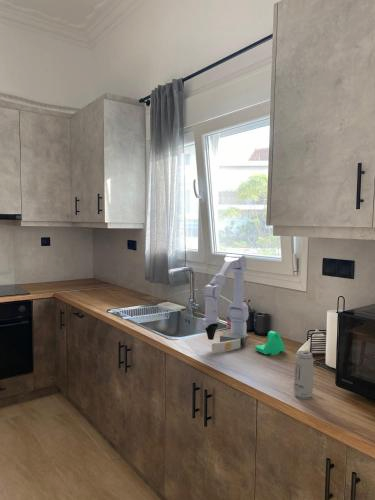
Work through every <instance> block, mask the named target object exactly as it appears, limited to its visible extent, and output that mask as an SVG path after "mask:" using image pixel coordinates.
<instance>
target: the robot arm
mask: <svg viewBox="0 0 375 500" xmlns="http://www.w3.org/2000/svg"><path fill="white" fill-rule="evenodd" d="M222 265H223V266H222V267H221V269H220V271H219V272H218V273H216V274H214V277H213V278H212V279H211V280H210V283H208V284H206V285H204V287H203V291H202V294H203V297H204V298H203V300H204V302H205V304H204V305H205V308H204V310H205V311H204V318H202V328H203V329H205V332H206V336H207V339H208V341H209V340H210V341H213V340H214V338H215V335H216V331H217V329H218V326H219V324H218V322H219V321H220V317H219V316H218V310H219V309H218V303H219V302H218V301H219V298H220V296H221V293H222V292H221V291H222V287H223V286H224V284H225V283H226V281H227V279H226V277H227V276H228V274H229V273H230V272H231V271H232V272H233V297H232V299H233V301H232V302H231V303H229V305H228V309H227V317H228V319H229V320H230V333H232V334H238V335H244V338H245V339H246V338H247V337H248V336H249V335H248V334H247V327H248V326H247V322H246V321H247V320H248V319H249V316H250V314H249V313H250V312H249V306H248V305H247V304H246V303H245V302H244V290H245V289H244V288H245V287H244V283H245V282H244V281H245V271H247V258H246V257H245V255H244V254H229V253H228V254H227V253H226V255H225V256H224V259H223V264H222Z"/></svg>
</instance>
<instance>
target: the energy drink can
mask: <svg viewBox="0 0 375 500" xmlns="http://www.w3.org/2000/svg"><path fill="white" fill-rule="evenodd" d="M294 358H295V359H294V379H293V380H294V382H293V383H294V384H293V386H294V387H293V393H294V395H295V397H296V398H298V399H300V400H309V399H311V397H312V396H313V389H314V388H313V387H314V366H315V365H314V364H315V363H314V362H315V359H314V357H313V353H312V352H310V351H308V350H307V351H306V350H300V351H297V352H296V355H295V357H294Z"/></svg>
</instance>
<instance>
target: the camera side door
mask: <svg viewBox="0 0 375 500" xmlns="http://www.w3.org/2000/svg"><path fill="white" fill-rule="evenodd" d="M240 343H241V339H237V340H231V341H225V342H220V341H219V342H214V343H211V353H212V354H217V353H222V352H223V353H224V352H227V351H228V352H229V351H233V350H237V349H238V350H239V349H241V347H240Z"/></svg>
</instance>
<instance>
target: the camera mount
mask: <svg viewBox="0 0 375 500" xmlns="http://www.w3.org/2000/svg"><path fill="white" fill-rule="evenodd" d="M266 337H267V342H266V343H265V344H260V345H259V344H258V345H255V348H254V349H255V351H258V352H260V353H261V354H264V355H269V356H270V355H271V356H273V355H278V354H279V355H280V352H283V351H286V346H285V344H284V341H283V340H282V337H281V335H280V333H279V332H277V331H274V330H270V331H268V332H267V336H266Z"/></svg>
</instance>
